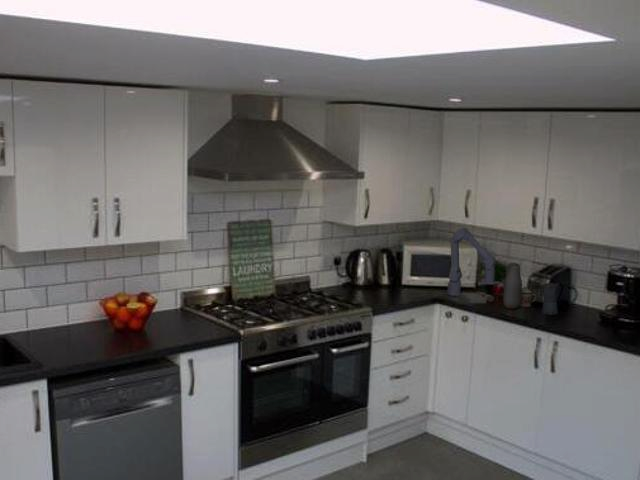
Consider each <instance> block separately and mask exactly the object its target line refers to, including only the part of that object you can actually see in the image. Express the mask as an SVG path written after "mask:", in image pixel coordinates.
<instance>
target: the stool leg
mask: <svg viewBox="0 0 640 480" xmlns="http://www.w3.org/2000/svg"><path fill="white" fill-rule="evenodd" d="M476 293H477V294H479V295H480V296H482V297H484V298H485V299H486V302H488V303H489V302H494V297H495V296H494V295H491V294H490V295H488V294H487V293H486V292H483V291H479V290H478V291H476Z"/></svg>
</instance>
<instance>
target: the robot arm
mask: <svg viewBox="0 0 640 480" xmlns="http://www.w3.org/2000/svg"><path fill="white" fill-rule="evenodd" d="M462 240H464V241H468V242H469V243H470V244H471V245H472V246H473V247H474V248H475V249H476V253H477V255H478V256H479V257H480V258H481V260H482V261H484V265H485V269H484V281H478V282H477V286H484V287H485V290H486V292H487V293H486V294H488V295H491V293H492V291H493V289H494V288H495V286H501V285H502V282H501V281H495V264H496V262H497V259H496V258H495V256H493V255H492V254H491V253H490V252H489V251H488V248H487V247H485V246H481V244H480V243H479V242H478V240H477V239H476V238H475V236H474V235H473V234H472V232H471V231H469V229H468V228H466V227H462V228H458V229H457V230H456V231H454V233H453V235H452V237H451V239H450V261H451V264H450V265H451V266H450V270H449V271H450V272H449V274H448V280H449V281H448V283H447V291H446V294H447V295H449V296H451V297H453V296H454V297H455V296H460V297H461V287H462V286H461V285H462V280H461V279H462V278H463V272H462V269H461V267H460V245H459V243H460V242H461V241H462Z"/></svg>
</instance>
